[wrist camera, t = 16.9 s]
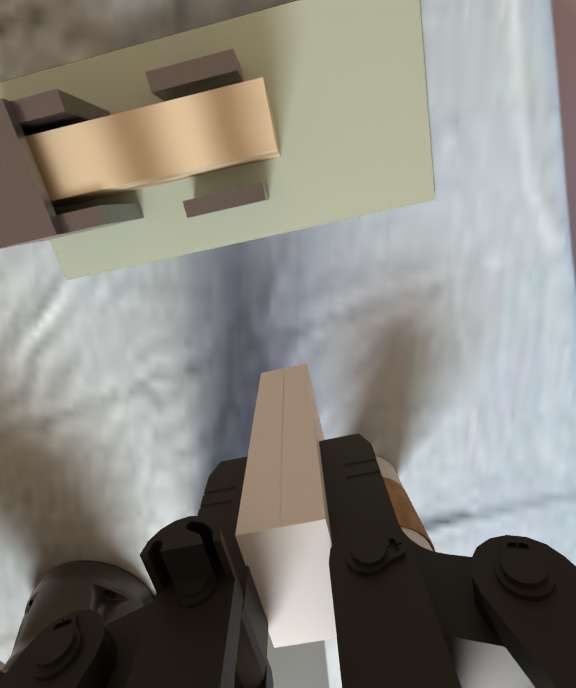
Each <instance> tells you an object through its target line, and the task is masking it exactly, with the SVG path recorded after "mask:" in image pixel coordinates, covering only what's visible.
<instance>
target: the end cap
mask: <svg viewBox="0 0 576 688" xmlns="http://www.w3.org/2000/svg"><path fill="white" fill-rule="evenodd" d="M109 115H110V112H109V111H107V110H105V109H102V108H100V107H98V106H96V105H93V104H91V103H89V102H86V101H84V100H82V99H79V98H77V97H75V96H73V95H70V94H68V93H66V92H63V91H61V90H59V89H54V90H50V91H47V92H43V93H39V94H36V95H32V96H28V97H24V98H21V99H17V100H13V101H9V100H6V99H3V98H0V249H1V248H7V247H12V246H17V245H23V244H28V243H34V242H39V241H45V240H50V239H55V238H59V237H64V236H68V235H72V234H77V233H81V232H85V231H90V230H94V229H98V228H103V227H107V226H111V225H116V224H120V223H125V222H129V221H133V220H138V219H142V218H144V217H143V214H142V211H141V207H140V204H139V203H131V204H114V205H98V206H94V207H90V208H85V209H81V210H77V211H73V212H69V213H64V214H60V215H57V212H56V210H55V207H53V205H52V203H51V200H50V198H49V195H48V193H47V190H46V188H45V185H44V183H43V180H42V178H41V175H40V173H39V170H38V168H37V165H36V163H35V160H34V158H33V155H32V153H31V150H30V148H29V145H28V142H27V140H26V137H25V136H29V135H33V134H37V133H41V132H45V131H49V130H53V129H57V128H61V127H65V126H69V125H73V124H77V123H81V122H85V121H89V120H93V119H97V118H101V117H105V116H109Z"/></svg>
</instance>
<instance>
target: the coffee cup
mask: <svg viewBox="0 0 576 688" xmlns="http://www.w3.org/2000/svg"><path fill="white" fill-rule="evenodd" d="M376 460H377V462H378V465H379V468H380V471H381V474H382V477H383V479H384V482H385V485H386V488H387V491H388V494H389V497H390V500H391V503H392V505H393V508H394V511H395V514H396V517H397V520H398V523H399V525H400V526H401V528H402V530H403V532H404V533H405V534H406V535H407V536H408V537H409V538H410V539H411V540H412V541H414V542H415V543H417V544H418V545H420V546H421V547H424V548H426V549H428V550H431V551H434V552H435V549H434V546H433V544H432V542H431V540H430V538H429V536H428V534H427V533H426V531H425V529H424V527H423V525H422V523H421V521H420V519H419V517H418V515H417V513H416V511H415V509H414V507H413V505H412V503H411V501H410V499H409V497H408V495H407V493H406V492H405V490H404V488H403V486H402V484H401V482H400V480H399V477H398V475H397V473H396V471H395V469H394V468H393V466H392V465H391V464H390V463H389V462H388V461H387V460H385V459H383V458H381V457H377V456H376Z"/></svg>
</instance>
